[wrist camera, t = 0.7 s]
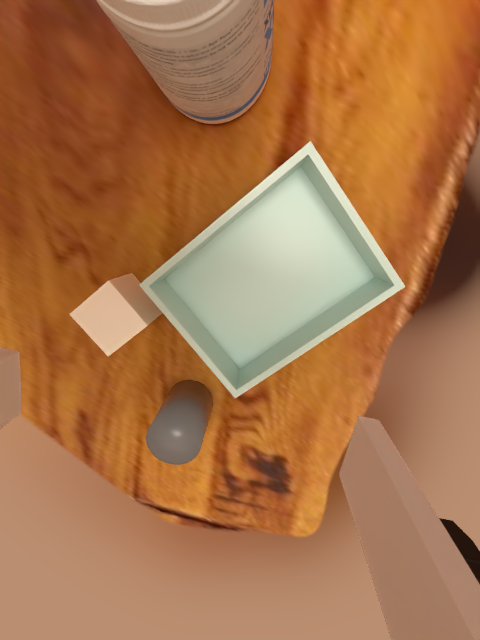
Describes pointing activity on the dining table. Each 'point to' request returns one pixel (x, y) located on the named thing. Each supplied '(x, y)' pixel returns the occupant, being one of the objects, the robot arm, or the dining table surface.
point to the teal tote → (273, 275)
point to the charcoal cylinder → (180, 423)
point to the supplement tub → (200, 50)
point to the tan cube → (116, 312)
